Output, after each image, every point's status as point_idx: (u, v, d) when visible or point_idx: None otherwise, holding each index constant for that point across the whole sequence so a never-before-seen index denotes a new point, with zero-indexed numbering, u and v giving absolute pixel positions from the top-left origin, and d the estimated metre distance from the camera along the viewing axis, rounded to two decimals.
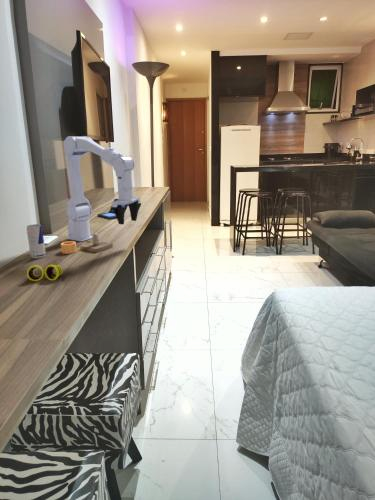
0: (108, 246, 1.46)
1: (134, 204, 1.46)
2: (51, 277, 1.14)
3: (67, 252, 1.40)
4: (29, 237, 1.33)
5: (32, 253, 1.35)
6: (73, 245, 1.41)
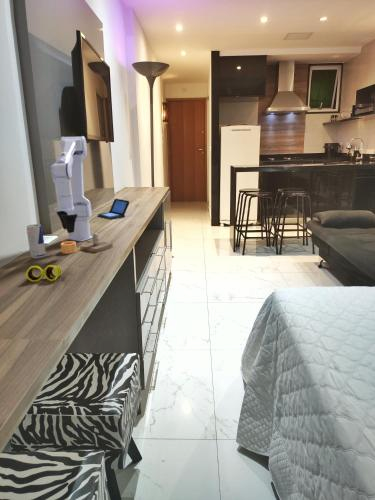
0: (108, 246, 1.46)
1: None
2: (51, 277, 1.14)
3: (67, 252, 1.40)
4: (29, 237, 1.33)
5: (32, 253, 1.35)
6: (73, 245, 1.41)
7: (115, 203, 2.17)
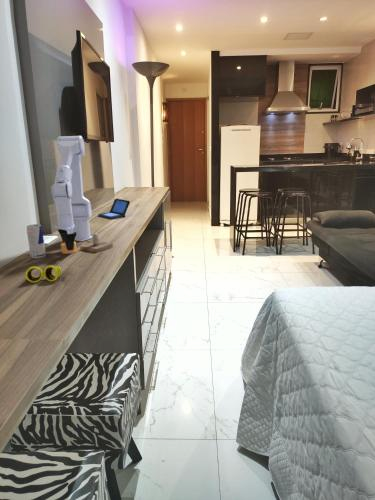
0: (108, 246, 1.46)
1: None
2: (50, 278, 1.14)
3: (67, 252, 1.40)
4: (29, 237, 1.33)
5: (32, 253, 1.35)
6: None
7: (116, 203, 2.17)
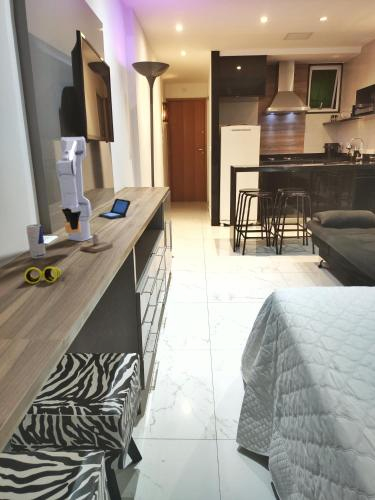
0: (108, 246, 1.46)
1: None
2: (49, 279, 1.13)
3: (71, 232, 1.39)
4: (29, 237, 1.33)
5: (32, 253, 1.35)
6: None
7: (116, 203, 2.18)
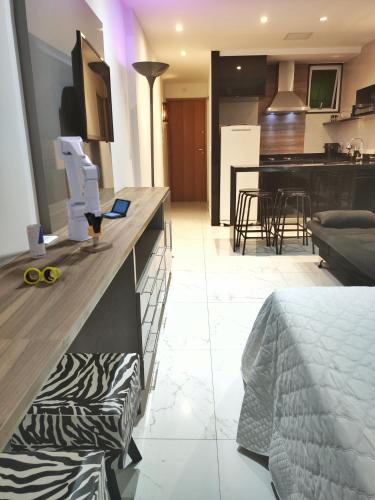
0: (108, 246, 1.46)
1: None
2: (49, 280, 1.12)
3: (93, 235, 1.42)
4: (29, 237, 1.33)
5: (32, 253, 1.35)
6: None
7: (117, 203, 2.18)
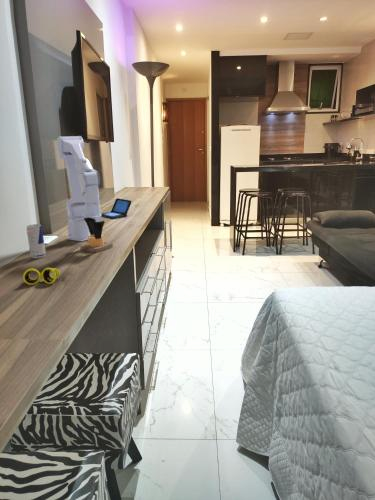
0: (108, 246, 1.46)
1: None
2: (48, 280, 1.12)
3: (94, 245, 1.44)
4: (29, 237, 1.33)
5: (32, 253, 1.35)
6: (100, 238, 1.44)
7: (117, 203, 2.18)
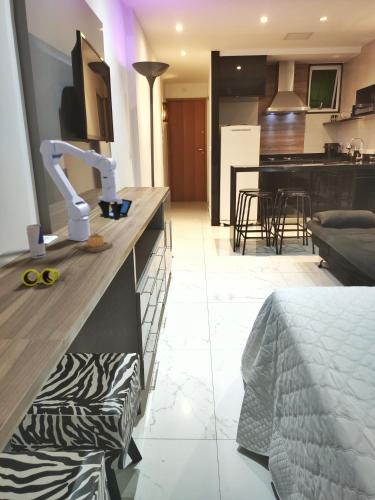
0: (108, 246, 1.46)
1: None
2: (47, 281, 1.11)
3: (94, 245, 1.44)
4: (29, 237, 1.33)
5: (32, 253, 1.35)
6: (100, 238, 1.44)
7: None
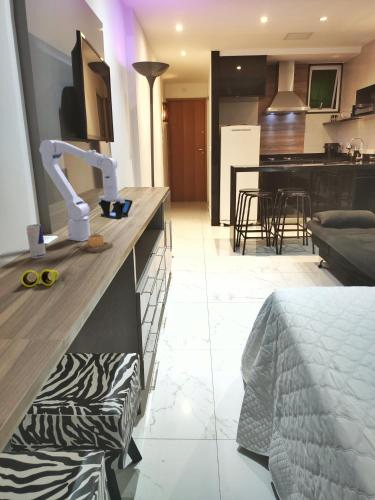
0: (108, 246, 1.46)
1: None
2: (46, 282, 1.10)
3: (94, 245, 1.44)
4: (29, 237, 1.33)
5: (32, 253, 1.35)
6: (100, 238, 1.44)
7: None
